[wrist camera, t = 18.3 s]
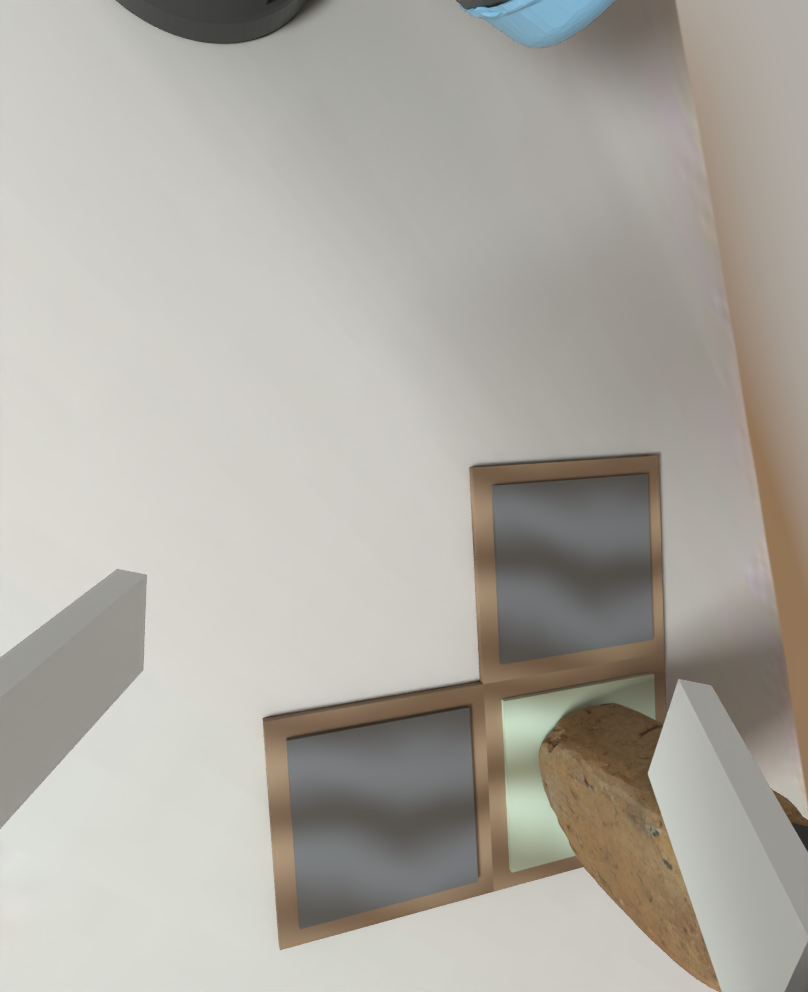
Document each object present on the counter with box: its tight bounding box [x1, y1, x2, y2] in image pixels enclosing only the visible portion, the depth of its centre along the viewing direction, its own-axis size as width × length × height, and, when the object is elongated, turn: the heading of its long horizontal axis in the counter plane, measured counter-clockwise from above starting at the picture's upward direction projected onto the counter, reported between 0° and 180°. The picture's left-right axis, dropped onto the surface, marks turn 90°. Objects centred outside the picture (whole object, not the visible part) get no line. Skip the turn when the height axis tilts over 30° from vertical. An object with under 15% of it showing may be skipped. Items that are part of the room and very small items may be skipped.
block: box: [539, 703, 808, 992], centre depth 39 cm, size 11×8×20 cm
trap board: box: [263, 456, 666, 950], centre depth 46 cm, size 30×30×1 cm
